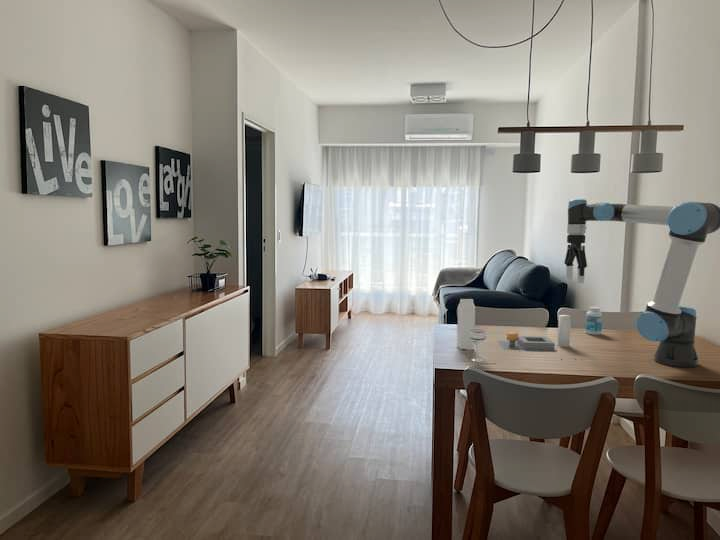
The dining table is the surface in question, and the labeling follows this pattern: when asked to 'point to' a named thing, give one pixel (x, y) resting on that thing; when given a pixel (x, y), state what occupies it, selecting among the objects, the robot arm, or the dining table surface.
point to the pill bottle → (593, 321)
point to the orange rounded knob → (512, 336)
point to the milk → (465, 323)
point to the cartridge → (564, 330)
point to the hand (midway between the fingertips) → (574, 281)
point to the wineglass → (477, 340)
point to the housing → (529, 344)
